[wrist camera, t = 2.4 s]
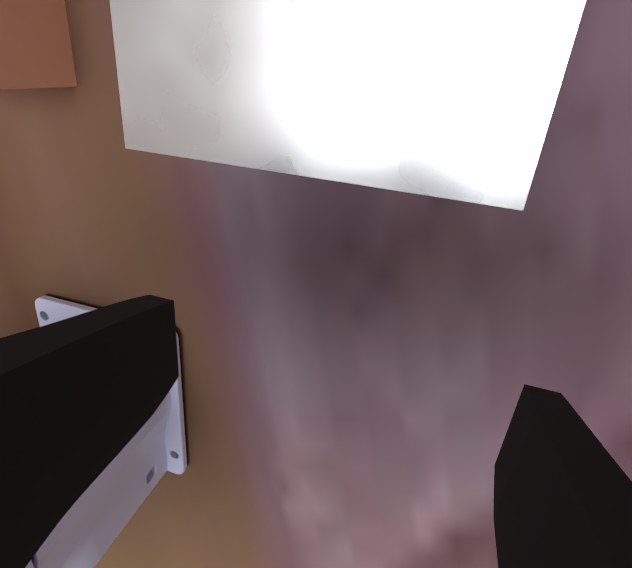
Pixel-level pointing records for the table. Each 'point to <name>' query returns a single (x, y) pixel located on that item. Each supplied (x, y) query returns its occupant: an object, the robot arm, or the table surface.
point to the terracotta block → (35, 45)
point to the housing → (350, 88)
